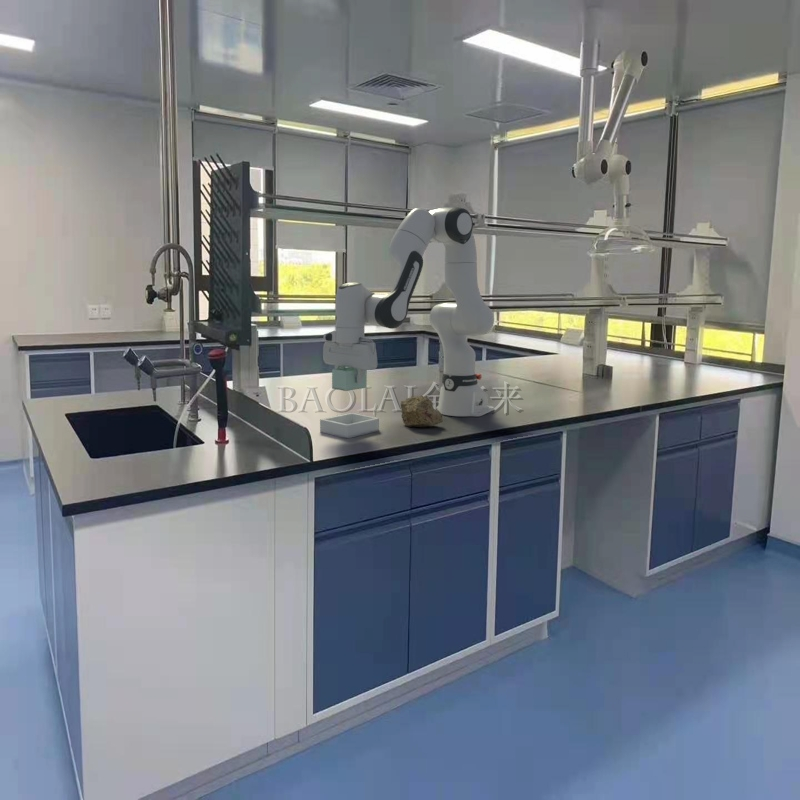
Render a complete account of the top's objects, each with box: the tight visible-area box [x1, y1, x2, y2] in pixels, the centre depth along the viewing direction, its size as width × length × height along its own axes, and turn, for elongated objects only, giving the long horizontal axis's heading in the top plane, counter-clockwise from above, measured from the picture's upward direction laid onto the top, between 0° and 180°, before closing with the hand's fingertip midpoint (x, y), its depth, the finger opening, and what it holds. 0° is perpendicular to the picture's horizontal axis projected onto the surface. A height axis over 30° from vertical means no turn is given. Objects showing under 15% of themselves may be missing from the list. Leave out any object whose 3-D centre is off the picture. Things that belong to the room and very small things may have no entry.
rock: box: [400, 395, 443, 428], centre depth 217 cm, size 11×12×10 cm
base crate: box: [319, 412, 380, 440], centre depth 207 cm, size 14×12×4 cm
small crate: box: [331, 367, 368, 392], centre depth 204 cm, size 9×6×6 cm, turn 140°
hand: (349, 381), depth 205 cm, fingers closed on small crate, 6 cm apart
